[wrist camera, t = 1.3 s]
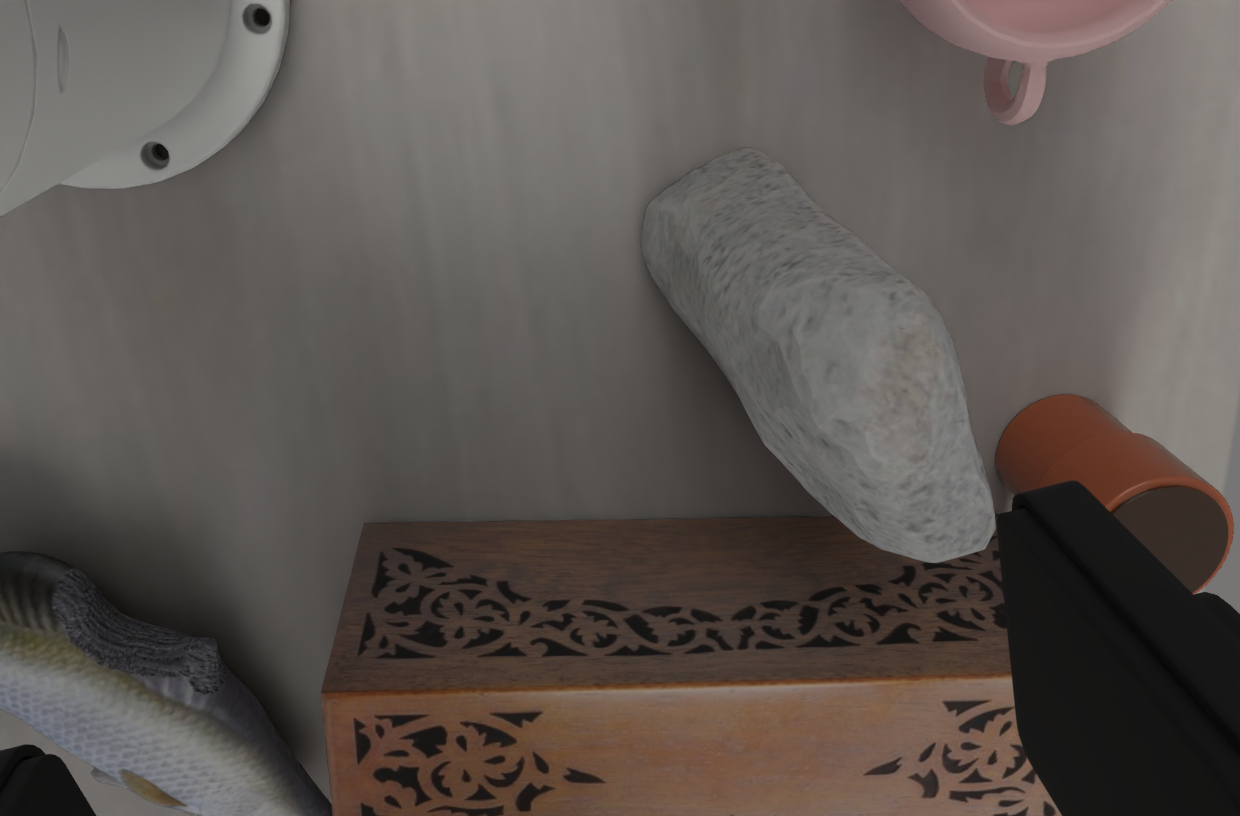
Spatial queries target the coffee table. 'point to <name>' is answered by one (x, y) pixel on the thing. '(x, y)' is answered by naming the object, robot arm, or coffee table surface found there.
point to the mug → (1029, 38)
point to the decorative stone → (825, 354)
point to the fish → (139, 700)
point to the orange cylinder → (1121, 481)
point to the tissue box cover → (670, 674)
